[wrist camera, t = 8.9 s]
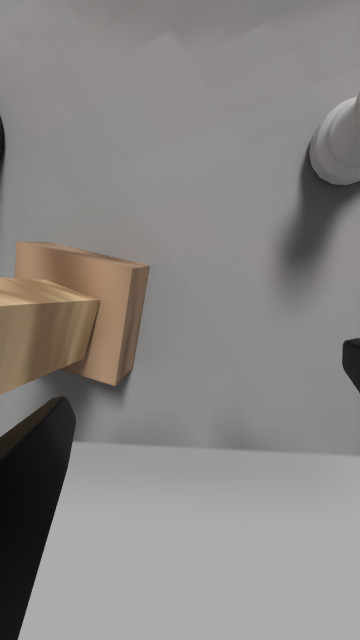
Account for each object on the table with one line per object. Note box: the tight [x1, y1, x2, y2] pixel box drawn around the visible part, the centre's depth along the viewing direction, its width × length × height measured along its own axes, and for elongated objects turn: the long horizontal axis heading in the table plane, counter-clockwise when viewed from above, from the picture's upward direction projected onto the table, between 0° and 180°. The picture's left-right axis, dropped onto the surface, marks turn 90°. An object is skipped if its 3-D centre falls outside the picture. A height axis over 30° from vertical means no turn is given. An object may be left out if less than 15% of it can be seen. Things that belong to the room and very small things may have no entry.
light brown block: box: [15, 241, 150, 386], centre depth 22 cm, size 9×9×4 cm
